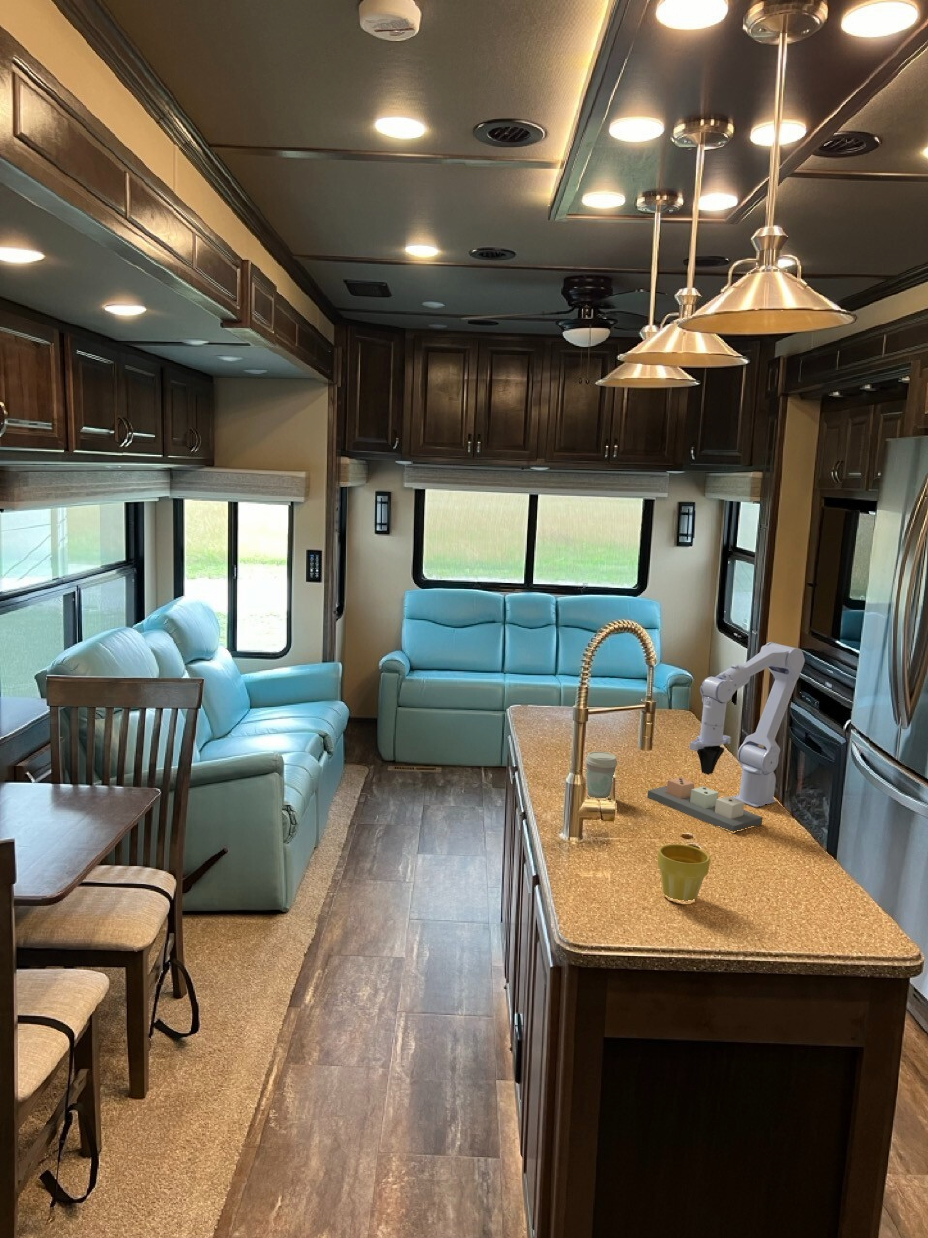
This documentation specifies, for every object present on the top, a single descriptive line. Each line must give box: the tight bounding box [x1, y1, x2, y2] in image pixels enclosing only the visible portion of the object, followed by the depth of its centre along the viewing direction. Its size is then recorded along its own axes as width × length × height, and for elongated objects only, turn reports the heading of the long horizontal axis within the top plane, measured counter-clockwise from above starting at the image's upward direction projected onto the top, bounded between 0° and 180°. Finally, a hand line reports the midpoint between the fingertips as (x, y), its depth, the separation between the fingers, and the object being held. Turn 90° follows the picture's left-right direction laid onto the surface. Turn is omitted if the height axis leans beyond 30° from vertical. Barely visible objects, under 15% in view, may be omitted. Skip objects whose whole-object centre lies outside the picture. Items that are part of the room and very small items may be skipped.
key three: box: [666, 777, 695, 799], centre depth 245 cm, size 5×5×4 cm
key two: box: [690, 786, 720, 809], centre depth 238 cm, size 5×5×4 cm
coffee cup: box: [585, 750, 618, 798], centre depth 242 cm, size 8×8×12 cm
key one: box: [715, 795, 745, 819], centre depth 232 cm, size 5×5×4 cm
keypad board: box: [646, 785, 763, 832], centre depth 239 cm, size 12×28×2 cm, turn 37°
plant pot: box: [657, 843, 711, 901], centre depth 187 cm, size 10×10×10 cm
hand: (707, 773), depth 237 cm, fingers closed
